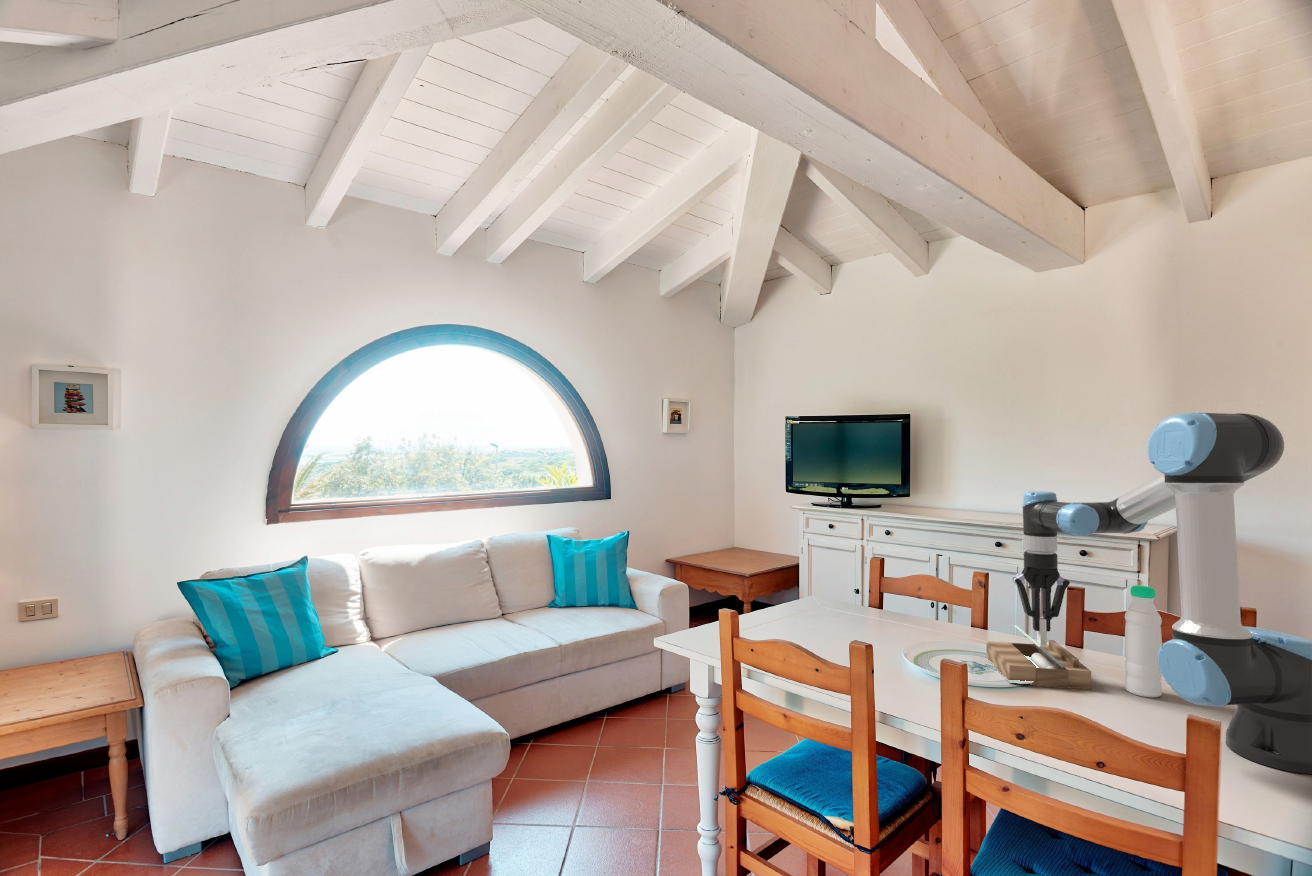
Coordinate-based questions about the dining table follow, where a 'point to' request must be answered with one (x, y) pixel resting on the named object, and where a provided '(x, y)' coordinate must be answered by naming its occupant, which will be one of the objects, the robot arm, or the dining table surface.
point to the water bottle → (1143, 644)
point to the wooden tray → (1020, 668)
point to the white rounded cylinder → (1042, 661)
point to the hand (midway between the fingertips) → (1041, 643)
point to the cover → (1042, 649)
